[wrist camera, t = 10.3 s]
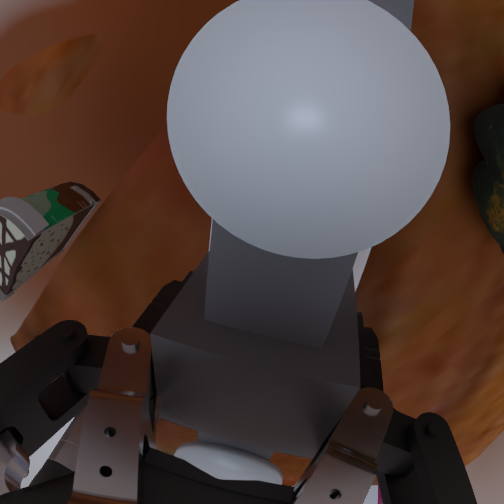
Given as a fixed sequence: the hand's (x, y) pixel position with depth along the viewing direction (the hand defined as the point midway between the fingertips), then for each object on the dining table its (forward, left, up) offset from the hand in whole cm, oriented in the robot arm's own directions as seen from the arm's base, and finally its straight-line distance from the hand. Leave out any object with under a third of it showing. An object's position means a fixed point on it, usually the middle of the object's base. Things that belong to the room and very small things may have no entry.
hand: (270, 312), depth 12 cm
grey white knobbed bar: (0, 0, -1) cm, 1 cm away
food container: (-5, +23, -14) cm, 27 cm away
